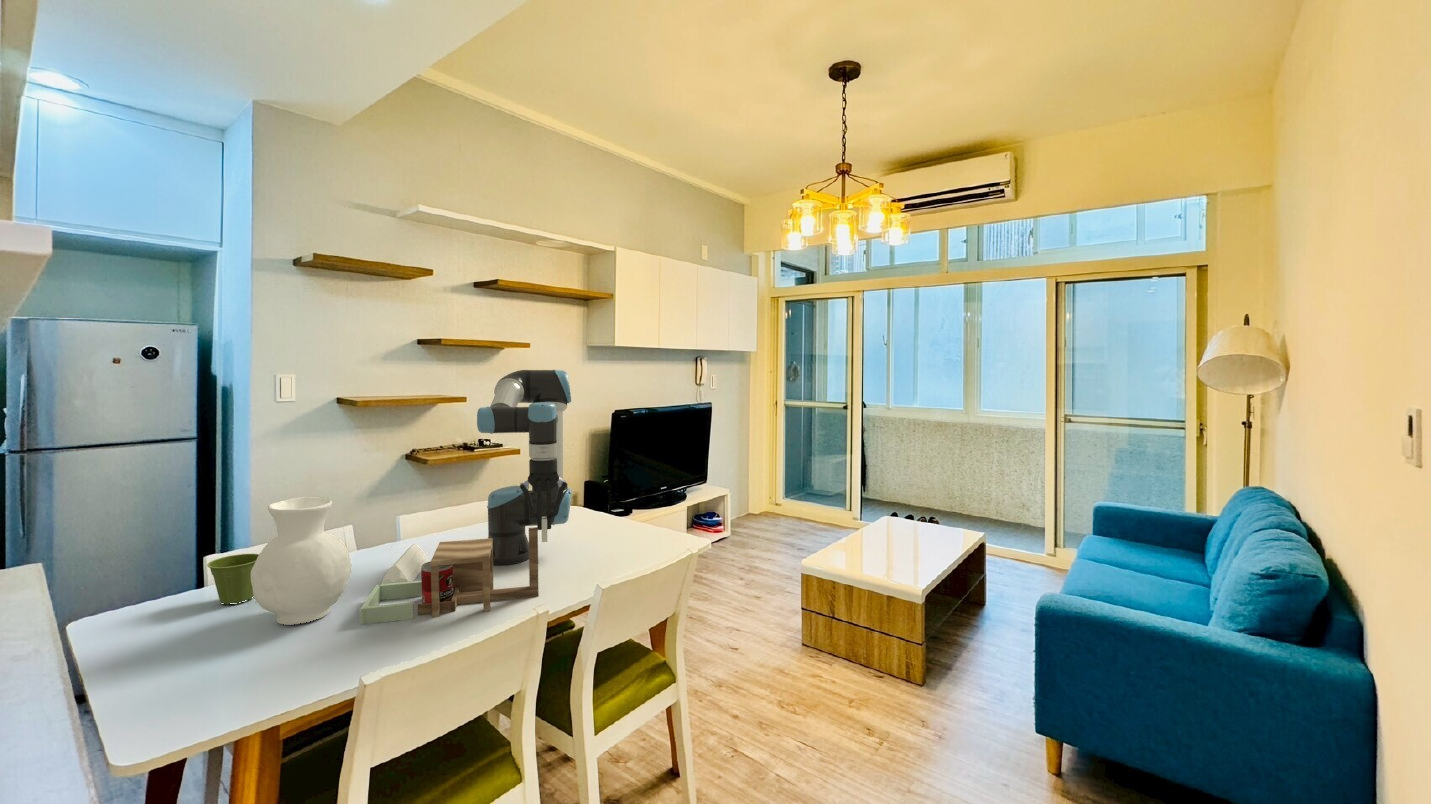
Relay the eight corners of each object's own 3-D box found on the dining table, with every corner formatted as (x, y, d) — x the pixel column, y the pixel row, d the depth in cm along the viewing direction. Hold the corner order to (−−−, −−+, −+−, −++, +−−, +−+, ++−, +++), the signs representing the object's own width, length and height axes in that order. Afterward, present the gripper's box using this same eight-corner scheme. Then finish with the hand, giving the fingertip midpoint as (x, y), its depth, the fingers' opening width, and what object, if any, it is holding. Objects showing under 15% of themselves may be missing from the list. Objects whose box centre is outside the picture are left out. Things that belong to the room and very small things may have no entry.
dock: (376, 598, 167) (376, 584, 167) (423, 594, 171) (423, 580, 170) (360, 624, 152) (360, 609, 151) (412, 619, 155) (412, 603, 155)
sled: (425, 597, 169) (423, 530, 167) (538, 586, 178) (537, 522, 176) (417, 615, 157) (415, 543, 156) (538, 602, 166) (537, 534, 165)
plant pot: (274, 596, 168) (272, 556, 167) (224, 613, 157) (222, 570, 156) (249, 589, 173) (247, 550, 172) (199, 604, 162) (197, 563, 161)
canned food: (441, 611, 160) (440, 570, 159) (415, 608, 162) (414, 568, 161) (459, 600, 167) (459, 561, 166) (434, 597, 169) (433, 558, 168)
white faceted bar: (397, 552, 195) (371, 579, 171) (418, 540, 196) (394, 566, 172) (410, 570, 196) (386, 601, 173) (431, 559, 197) (409, 587, 174)
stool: (441, 592, 172) (439, 542, 171) (493, 587, 176) (492, 538, 175) (432, 617, 156) (430, 561, 155) (490, 610, 161) (488, 556, 159)
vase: (310, 638, 144) (304, 514, 142) (234, 630, 148) (227, 509, 146) (368, 606, 162) (364, 496, 160) (299, 599, 166) (294, 491, 164)
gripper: (518, 461, 164) (520, 546, 166) (568, 459, 168) (569, 542, 170) (518, 456, 171) (520, 538, 173) (566, 454, 175) (567, 534, 177)
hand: (544, 540), depth 171 cm, fingers closed
